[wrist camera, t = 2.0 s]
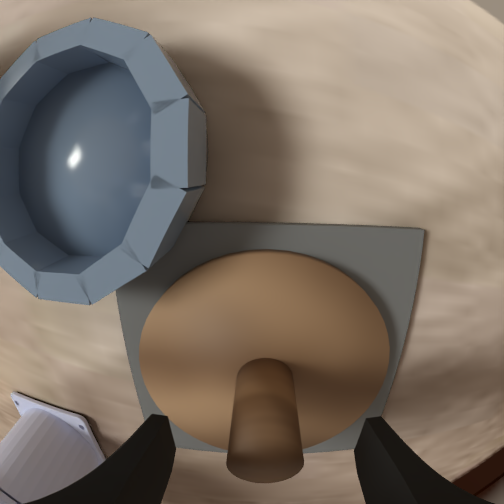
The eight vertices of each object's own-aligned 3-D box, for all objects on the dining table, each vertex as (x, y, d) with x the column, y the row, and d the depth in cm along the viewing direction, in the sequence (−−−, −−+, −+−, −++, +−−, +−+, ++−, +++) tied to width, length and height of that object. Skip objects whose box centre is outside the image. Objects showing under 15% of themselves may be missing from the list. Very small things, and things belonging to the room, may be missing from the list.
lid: (358, 439, 15) (380, 511, 10) (164, 437, 16) (140, 510, 10) (402, 250, 12) (481, 301, 7) (129, 247, 12) (50, 297, 7)
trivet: (367, 441, 16) (368, 446, 15) (154, 438, 16) (152, 443, 16) (419, 228, 12) (424, 229, 12) (113, 222, 13) (108, 224, 12)
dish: (210, 278, 13) (193, 313, 10) (26, 269, 14) (-14, 290, 10) (211, 33, 10) (195, -6, 7) (23, 79, 11) (-18, 68, 7)
